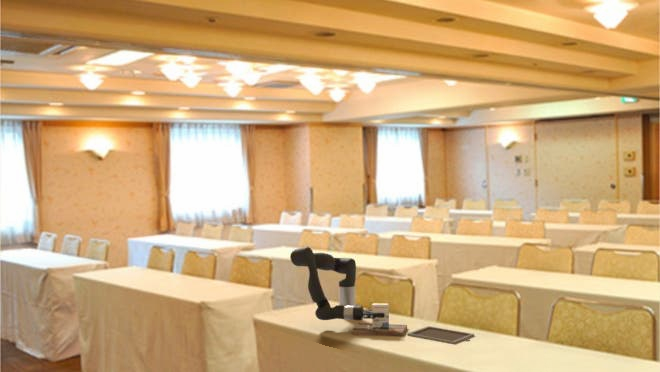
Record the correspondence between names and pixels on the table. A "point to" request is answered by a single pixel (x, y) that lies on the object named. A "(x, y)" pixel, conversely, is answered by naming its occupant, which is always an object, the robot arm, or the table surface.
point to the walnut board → (379, 330)
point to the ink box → (380, 309)
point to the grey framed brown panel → (441, 335)
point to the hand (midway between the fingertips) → (385, 314)
